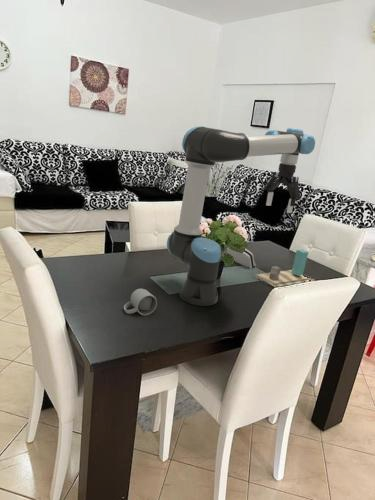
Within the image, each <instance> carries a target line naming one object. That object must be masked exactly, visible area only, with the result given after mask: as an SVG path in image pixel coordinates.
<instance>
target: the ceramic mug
mask: <svg viewBox="0 0 375 500" xmlns="http://www.w3.org/2000/svg"><path fill="white" fill-rule="evenodd" d="M157 301H158V300H157V297H156V296H155V295H153V294H152V293H151V292H150V291H148V290H147V289H144V288H137V289H135V290H134V291H133V292H132V293H131V295H130V301H128V302H127V303H125V304H124V305H123V311H124V312H125V314H129V315H132V314H134V313H138V314H139V315H141V316H149V315H151V314H153V312H154V311H155V310H156V308H157V307H158V302H157ZM129 306H133V308H131V309H127V308H129Z"/></svg>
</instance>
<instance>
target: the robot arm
mask: <svg viewBox="0 0 375 500" xmlns="http://www.w3.org/2000/svg"><path fill="white" fill-rule="evenodd" d="M315 146H316V139H315V138H314V136H312V135H311V134H307V133H306V134H304V130H303V129H298V128H293V127H287V128H286V131H282V130H276V129H274V130H273V129H269V130H268V131H266V132H265V134H263V135H262V134H261V135H247V134H245V133H244V132H239V133H238V132H232V131H227V130H223V129H218V128H213V127H212V128H211V127H207V126H194V127H192V128H189V130H187V131H186V133H185V134H184V135H183V138H182V143H181V147H182V150H183V151H184V153H185V158H184V161H185V163H186V164H187V171H186V177H185V178H186V179H185V182H184V191H183V196H182V202H181V209H180V214H179V221H178V224H177V225H175V227H174V228H173V230H172V232H171V233H170V234H169V235H168V237H167V240H166V247H167V248H166V249H167V251H168V252H169V254H170V255H171V256H172V257H173V258H174V259H176V260H178V261H179V262H181V263H182V264H184V265H185V266H187V268H188V269H187V275H186V278H185V281H184V283H183V284H182V287H181V288H180V291H179V292H180V293H179V296H180V299H181V300H183V301H184V302H185V303H187V304H190V305H193V306H198V307H210V306H213V305H215V304H217V302H218V296H219V293H218V287H217V278H218V274H219V268H220V262H221V257H222V255H221V253H222V248H221V245H220V244H219V243H218V242H216V241H215V240H213V239H209V238H206V237H203V230H201V228H200V226H201V221H202V215H203V211H204V210H203V209H204V203H205V198H206V192H207V188H208V187H207V185H208V183H209V174H210V170H211V169H212V168H214V167H215V164H216V163H225V162H234V161H235V162H236V161H243V160H246V159H247V158H248V157H261V156H272V155H273V156H274V155H281V156H280V160H279V162H280V163H279V166H278V171H273V173H272V176H271V177H270V179H269V181H268V182H267V184H266V186H265V188H264V190H266V192H267V194H266V201H265V202H266V203H265V206H270V207H271V206H272V202H273V199H274V198H273V197H274V190H275V189H277V188H278V187H279V186H280V185H281V184H282V185H285V186H286V187H287V190H288V192H289V196H290V198H289V200H288V204H287V208H286V211H285V212H286V213H287V214H293V213H292V212H293V208H294V207H295V205H296V201H297V200H298V199H301V193H300V187H299V176H294V174H295V173H296V170H297V166H296V165H297V164H298V160H299V154H301V155H309V154H311V153H312V152H314V150H315Z"/></svg>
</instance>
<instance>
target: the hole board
mask: <svg viewBox="0 0 375 500" xmlns="http://www.w3.org/2000/svg"><path fill="white" fill-rule="evenodd" d="M291 272H292V269H288V270H287V269H286V270H282V269H281V267H279V266H277V265H274V266H271V269H270V272H265V273H264V272H263V273H257V274H254V275H253V277H254V276H255V277H257V278H259V279H261V280H263V281H265V282H267V283H268V284H270V285H272V286H274V287H276V286H277V287H281V286H287V285H292V284H297V283H302V282H304V281H305V282H309V280H311V281H315V282H316V279H315V278H312V277H310V278H307V277H304V276H303V275H298V276H297V275H295V274H293V273H291ZM255 277H254V278H255ZM311 278H312V279H311Z"/></svg>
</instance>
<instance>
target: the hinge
mask: <svg viewBox="0 0 375 500" xmlns="http://www.w3.org/2000/svg"><path fill="white" fill-rule="evenodd" d="M227 253H229V254H231V255H232V256H233V257H234V261H235V262H234V261H233V262H234V263H237V264H238V265H242V266H244V267H246V268H248V267H249V268H248V269H250V268H251V269H253V267H254V266H255V267H254V268H256V267H257V264H256V262H255V257H254V254H253V253H252V252H251V251H250V250H249V249H247V248H245V250H244V252H243V253H239V252H236V251H233V250H231V249H229V248H228V247H227V248H226V254H227Z"/></svg>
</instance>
